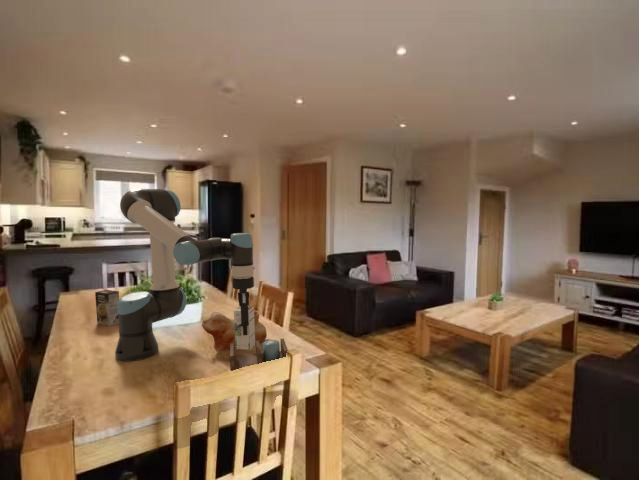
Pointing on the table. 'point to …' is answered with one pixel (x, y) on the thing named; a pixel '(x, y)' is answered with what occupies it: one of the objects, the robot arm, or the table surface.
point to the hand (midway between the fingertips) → (245, 339)
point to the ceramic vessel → (229, 330)
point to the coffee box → (107, 307)
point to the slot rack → (251, 356)
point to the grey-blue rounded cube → (271, 350)
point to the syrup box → (238, 329)
